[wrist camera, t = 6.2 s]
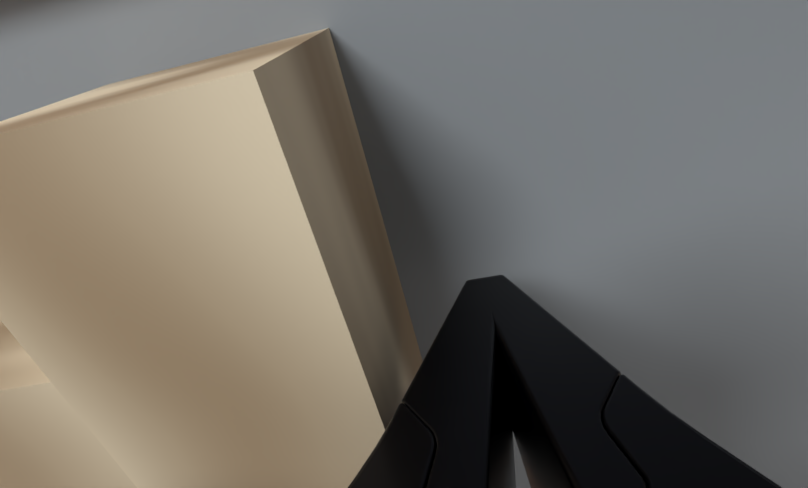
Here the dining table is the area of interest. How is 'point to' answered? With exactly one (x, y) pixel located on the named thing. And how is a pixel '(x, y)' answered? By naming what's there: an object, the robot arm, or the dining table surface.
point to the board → (547, 168)
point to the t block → (197, 282)
